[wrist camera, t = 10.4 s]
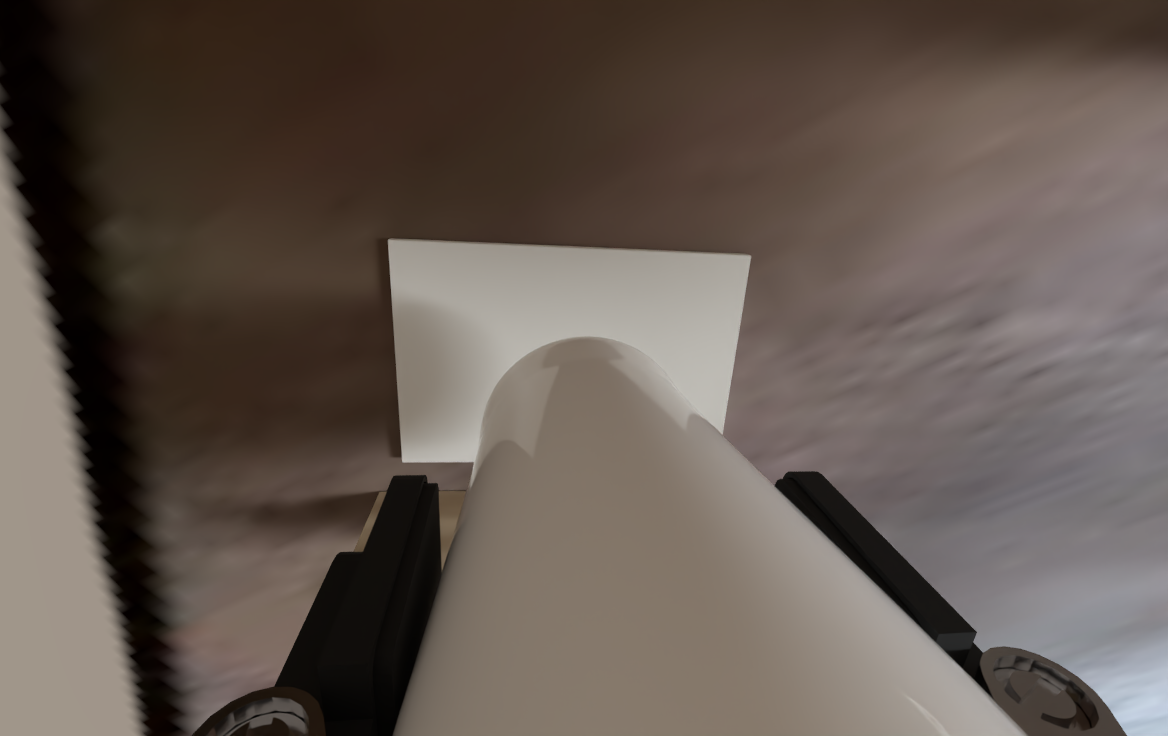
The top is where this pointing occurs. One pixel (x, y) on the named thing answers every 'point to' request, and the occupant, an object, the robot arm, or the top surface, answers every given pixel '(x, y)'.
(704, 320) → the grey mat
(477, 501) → the white vase
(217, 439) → the top surface
